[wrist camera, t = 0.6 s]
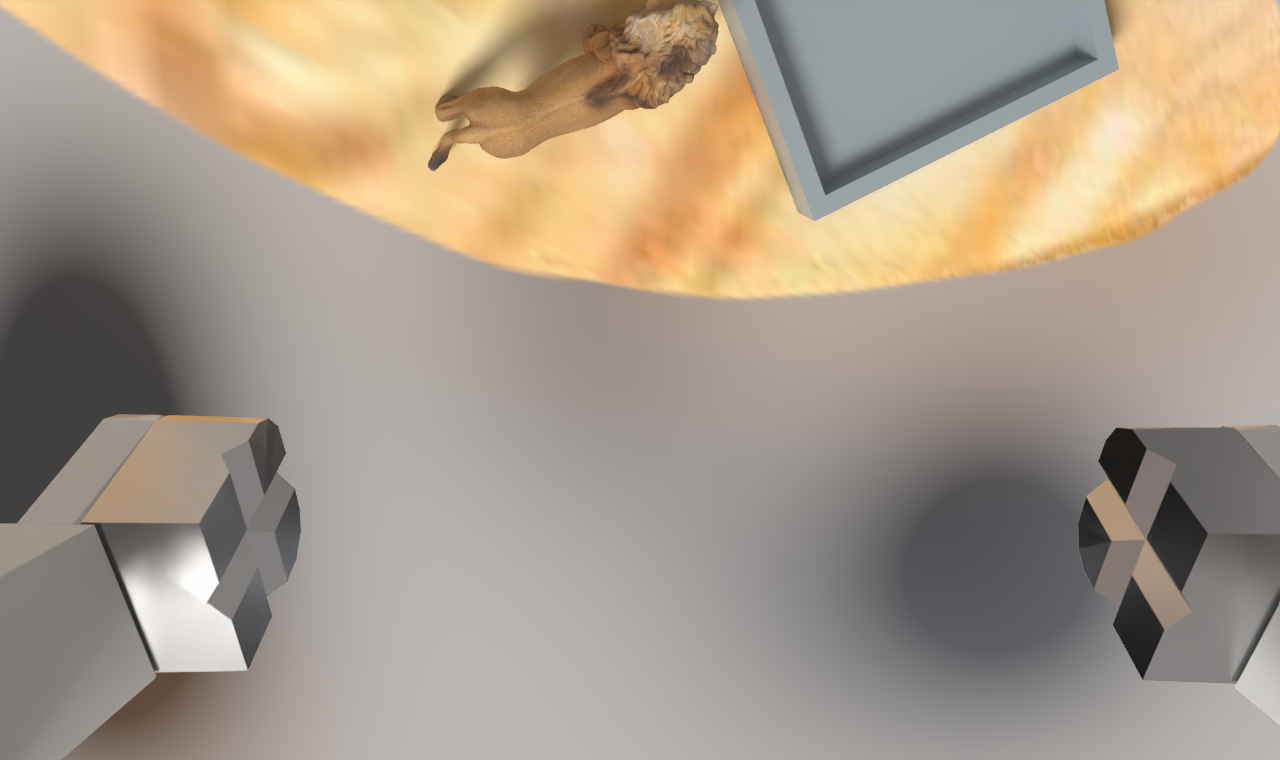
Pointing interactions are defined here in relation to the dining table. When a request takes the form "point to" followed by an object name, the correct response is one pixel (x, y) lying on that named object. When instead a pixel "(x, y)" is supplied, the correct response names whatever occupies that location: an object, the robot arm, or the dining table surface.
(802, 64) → the grey tray
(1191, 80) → the dining table surface
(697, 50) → the lion figurine
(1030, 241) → the dining table surface
